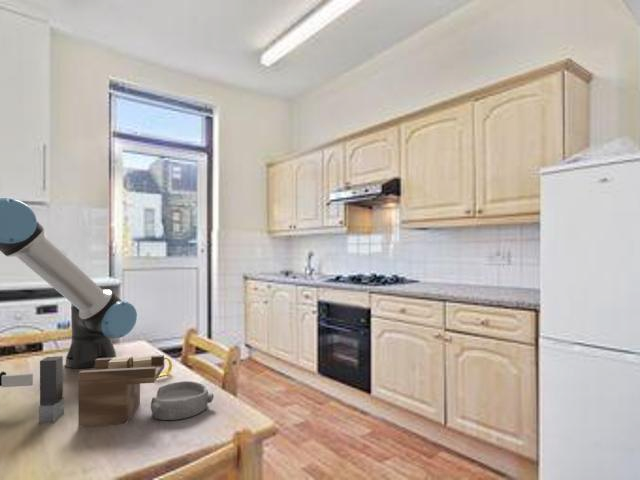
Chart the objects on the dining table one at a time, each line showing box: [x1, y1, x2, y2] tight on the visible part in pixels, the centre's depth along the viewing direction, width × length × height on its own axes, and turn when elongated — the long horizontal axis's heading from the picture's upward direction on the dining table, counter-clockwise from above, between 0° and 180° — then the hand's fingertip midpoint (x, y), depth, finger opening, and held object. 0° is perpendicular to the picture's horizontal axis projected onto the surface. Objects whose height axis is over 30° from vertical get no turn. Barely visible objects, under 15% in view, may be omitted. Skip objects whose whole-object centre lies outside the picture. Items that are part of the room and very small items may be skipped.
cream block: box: [132, 354, 152, 368], centre depth 100 cm, size 4×4×3 cm
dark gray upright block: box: [38, 355, 65, 425], centre depth 97 cm, size 6×3×14 cm, turn 10°
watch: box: [158, 355, 173, 378], centre depth 128 cm, size 6×3×6 cm, turn 136°
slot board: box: [77, 354, 165, 428], centre depth 99 cm, size 12×16×12 cm
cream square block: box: [108, 356, 132, 369], centre depth 99 cm, size 4×4×3 cm
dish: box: [150, 380, 215, 421], centre depth 102 cm, size 14×14×5 cm
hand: (16, 389), depth 95 cm, fingers open, 13 cm apart
